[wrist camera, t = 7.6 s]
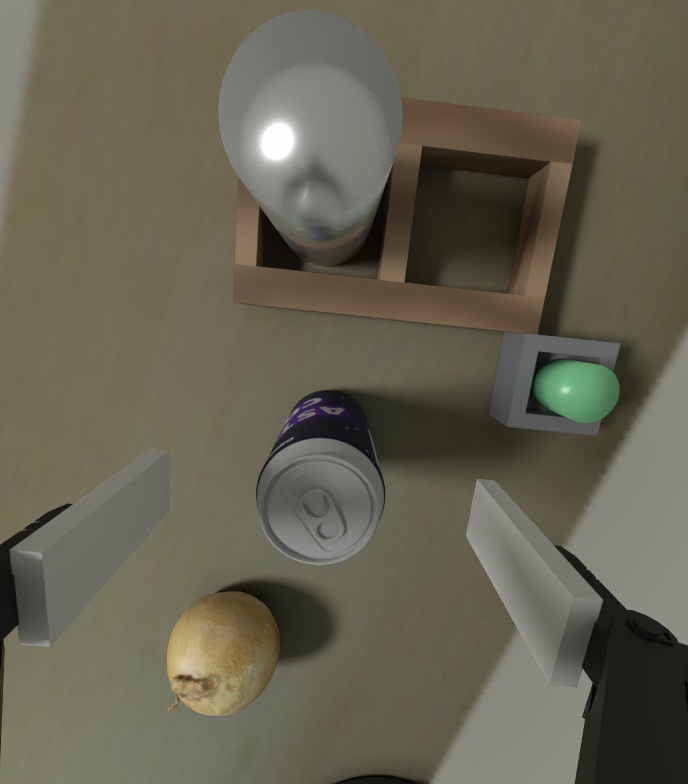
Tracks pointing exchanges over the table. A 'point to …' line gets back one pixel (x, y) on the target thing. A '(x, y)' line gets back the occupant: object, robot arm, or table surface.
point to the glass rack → (416, 147)
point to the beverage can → (322, 482)
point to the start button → (576, 389)
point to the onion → (222, 653)
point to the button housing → (520, 367)
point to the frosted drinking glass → (312, 129)
